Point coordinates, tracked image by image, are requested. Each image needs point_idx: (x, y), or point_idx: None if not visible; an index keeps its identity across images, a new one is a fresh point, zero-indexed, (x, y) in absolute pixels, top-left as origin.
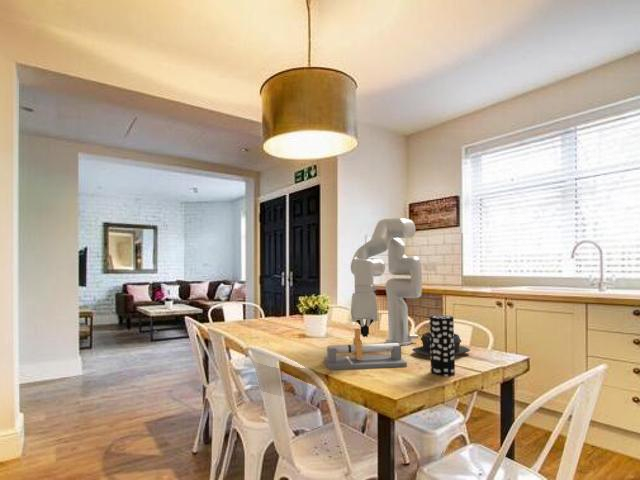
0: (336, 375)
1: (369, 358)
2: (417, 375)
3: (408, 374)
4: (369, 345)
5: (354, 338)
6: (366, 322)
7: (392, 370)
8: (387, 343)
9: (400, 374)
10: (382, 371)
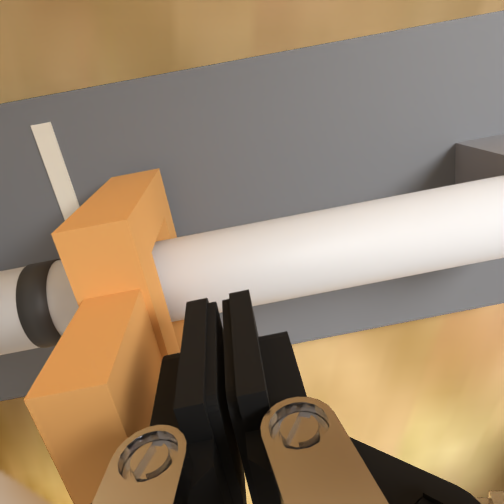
0: (51, 474)
1: (261, 192)
2: (489, 436)
3: (450, 426)
4: (276, 298)
5: (77, 285)
6: (297, 490)
7: (384, 368)
8: (492, 239)
9: (408, 430)
10: (320, 390)
